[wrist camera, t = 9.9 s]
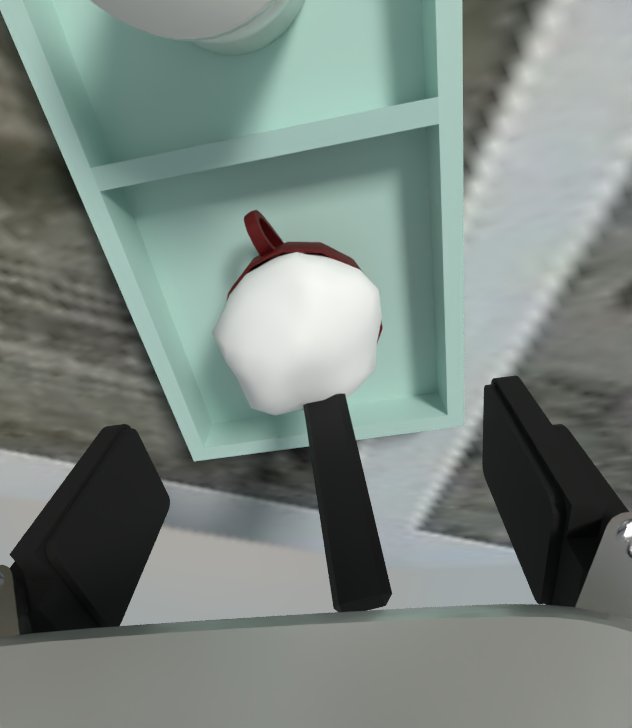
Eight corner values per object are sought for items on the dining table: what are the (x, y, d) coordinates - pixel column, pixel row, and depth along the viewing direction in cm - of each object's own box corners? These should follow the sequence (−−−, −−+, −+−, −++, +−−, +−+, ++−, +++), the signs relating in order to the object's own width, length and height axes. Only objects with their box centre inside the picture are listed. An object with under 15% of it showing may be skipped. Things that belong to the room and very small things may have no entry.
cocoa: (231, 201, 18) (82, 288, 8) (379, 197, 18) (438, 284, 7) (253, 391, 23) (177, 613, 12) (372, 391, 22) (402, 620, 12)
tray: (426, -442, 11) (458, -615, 8) (448, 391, 24) (464, 425, 21) (-67, -282, 12) (-171, -387, 10) (207, 425, 25) (193, 461, 23)
